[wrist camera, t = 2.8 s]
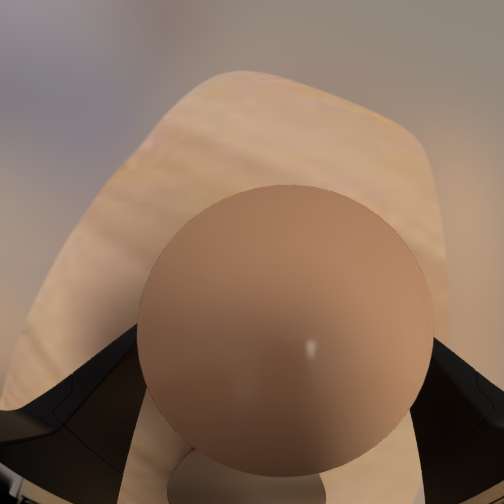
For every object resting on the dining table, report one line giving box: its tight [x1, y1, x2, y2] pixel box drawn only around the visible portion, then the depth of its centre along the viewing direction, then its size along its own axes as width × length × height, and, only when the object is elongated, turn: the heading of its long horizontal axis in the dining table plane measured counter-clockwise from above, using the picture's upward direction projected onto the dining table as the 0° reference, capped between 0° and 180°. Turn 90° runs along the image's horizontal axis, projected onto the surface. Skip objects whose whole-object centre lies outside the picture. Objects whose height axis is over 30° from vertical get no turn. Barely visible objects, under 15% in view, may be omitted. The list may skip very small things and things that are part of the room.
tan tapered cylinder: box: [137, 185, 434, 477], centre depth 10 cm, size 5×5×13 cm
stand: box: [167, 448, 326, 504], centre depth 12 cm, size 10×10×2 cm
